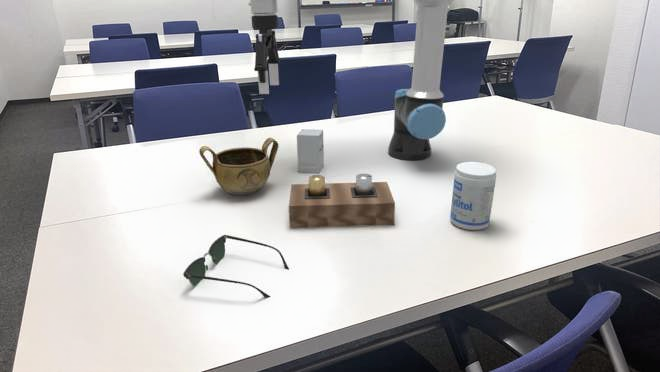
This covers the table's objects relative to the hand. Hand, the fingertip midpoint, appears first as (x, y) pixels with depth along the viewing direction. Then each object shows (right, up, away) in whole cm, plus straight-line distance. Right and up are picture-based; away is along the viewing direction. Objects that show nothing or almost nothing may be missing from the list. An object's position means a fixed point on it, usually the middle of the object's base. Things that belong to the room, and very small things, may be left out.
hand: (269, 89), depth 143 cm
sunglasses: (0, -48, -45) cm, 66 cm away
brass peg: (+15, -32, -21) cm, 41 cm away
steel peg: (+27, -32, -20) cm, 46 cm away
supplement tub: (+53, -39, -24) cm, 70 cm away
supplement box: (+12, -24, +14) cm, 30 cm away
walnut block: (+21, -37, -19) cm, 46 cm away
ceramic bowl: (-7, -31, -2) cm, 32 cm away
